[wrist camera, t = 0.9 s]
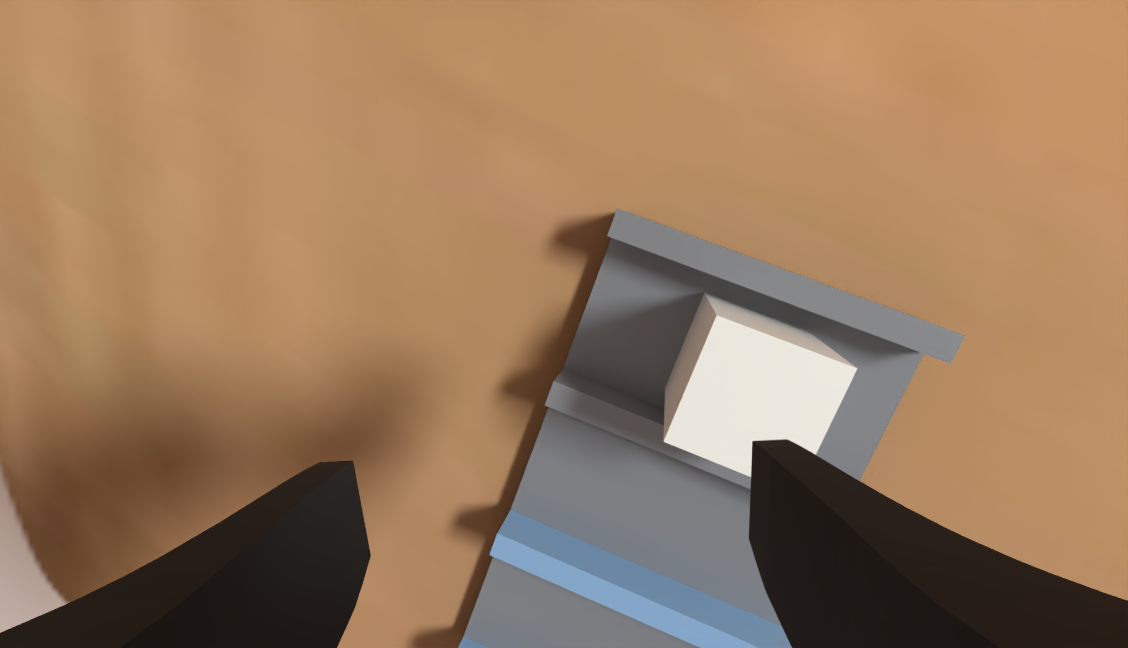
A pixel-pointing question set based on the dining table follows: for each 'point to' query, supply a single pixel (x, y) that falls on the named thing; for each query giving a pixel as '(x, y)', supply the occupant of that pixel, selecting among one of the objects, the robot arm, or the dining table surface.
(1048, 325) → the dining table surface
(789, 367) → the block
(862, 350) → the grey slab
